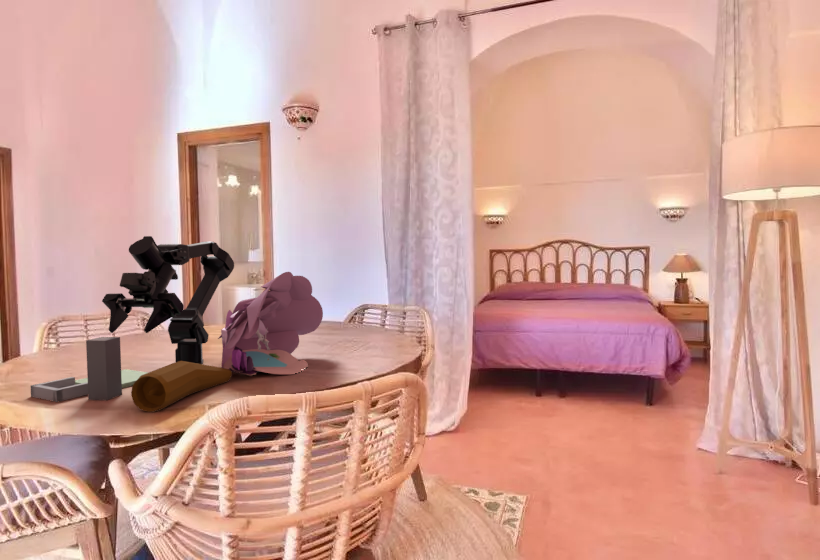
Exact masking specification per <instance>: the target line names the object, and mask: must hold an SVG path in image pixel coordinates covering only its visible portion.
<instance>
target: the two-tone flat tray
mask: <svg viewBox="0 0 820 560" xmlns="http://www.w3.org/2000/svg"><path fill="white" fill-rule="evenodd" d="M146 373H149V372H148V371H140V370H135V369H134V370H133V369H125V368H124V369H121V379H122V389H125V388H129V387H132V386H133V384H134V383H135V382H136V381H137V380H138V378H139V377H140V376H141V375H144V374H146ZM83 396H88V377H85V378H79V379H76V377H75V376H69V377H64V378H59V379H55V380H51V381H46V382H41V383H36V384H31V385H30V397H31V398H34V399H35V398H36V399H40V398H41V399H40V400H45V399H46V400H45V401H49V400H51V401H50V402H54V401H55V402H54V403H58V401H59V402H62V401H67V400H71V399H74V398H79V397H83Z"/></svg>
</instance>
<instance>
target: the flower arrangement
mask: <svg viewBox="0 0 820 560" xmlns="http://www.w3.org/2000/svg"><path fill="white" fill-rule="evenodd" d="M260 288H263V289H264V290H263V291H262V292H261V293H260V294H259V295H258V296H257V297H253V298H248V299H242V300H241V301H239V302H238V303H237V304H236V305H235V307H234V309H233V311H232V310H231V309H228V311H227V313H226V318H225V326H224V327H223V328H222V329H220V335H219V337H217V340H220V339H221V344H222V353H221V355H222V356H221V367H220V368H226V369H229V370H230V371H231V372H232V373H235V374H241V375H245V376H249V377H253V375H257V373H259V372H262V373H266V374H267V373H268V374H271V375H296V374H295V373H297V374H299V373H298V372H300V373H302V372H304V371H305V370H301V369H304V368H306V367H309V365H308V361H306V360H304V359H300V360H298V358H297V357H296V356H294V355H292V353H294V352H295V351H296V350H297V348H298V347H299V344H300V337H299V336H305V335H307V334H310V333H314V332H315V331H316V330H317V329H318V328H319V327H320V325H321V324H322V321H323V318H324V317H323V316H324V313H323V312H324V311H323V307H322V304H321V302H320V301H319V300H318V299H317V298H316V297H315V296H313V286H312V283H311V281H310V280H309V279H308V278H307V277H305V276H303V275H293V273H292V271H285V272H283V273H281V274H279V275H278V276H276V277H275V278H272V279H270V281H268V282H266V283H264V284H262V285H261V286H260ZM301 371H302V372H301Z"/></svg>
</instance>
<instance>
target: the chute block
mask: <svg viewBox="0 0 820 560" xmlns="http://www.w3.org/2000/svg"><path fill="white" fill-rule="evenodd" d="M85 345H86V346H85V347H86V369H87V370H86V371H87V372H86V373H87V374H86V375H87V378H88V394H87V396H88V397H87V398H88V400H91V401H109V400H111V399H114V398H117V397H119V396H121V395H123V388H122V379H121V370H122V356H121V354H122V353H121V337H120V336H118V337H117V336H101V337H96V338H90V339H87V340H85Z"/></svg>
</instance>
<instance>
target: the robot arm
mask: <svg viewBox="0 0 820 560" xmlns="http://www.w3.org/2000/svg"><path fill="white" fill-rule="evenodd" d="M128 253H130V254H129V255H131V256H132V258H133V259H134V260H135V262H136V263H137V264H138V265H139V267H140V268H141V269H143V270H146V271H144V272H143V273H142V272H140V273H139V272H123V273H122V275H121V278H120V282H119V287H121V288H125V289H126V290H128V294H129V295H130V296H132V297H131V298H128V297H126V296H125V295H124V294H123V293H115V292H114V293H105V295H104V296H103V298H102V300H101V302H102V303H103V304H104V305H105V306H106V307H107V309H109V311H110V312H109V315H110V318H109V326H108V331H109V333H111V334H113V333H114V332H116V331H117V329H119V328H120V327H121V325H122V324H123V323H124V322H125V321H126V320H127V318H128V317H129V315H128V314H130V313H131V311H132V310H133V308H139V307H140V308H144V309H152V312H151V314H150V316H149V317H148V319H147V322H146V324H145V327H144V330H143V331H144V333H145V334H148V333H150V332H151V331H153V330H154V329H155V328H158V326H160V325H161V324H163V323H164V322H166V321H170V322H169V324H168V327H167V331H168V336H169V339H170V342H171V343H170V344H171V345H172V344H173V345H174V344H176V346H177V347H176V349H175V350H174V353H175V354H174V356H175V357H174V358H175V362H178V361H186V362H191V363H197V364H203V363H204V358H203V344H206V343H207V342H208V341H209V333H208V331H207V330H206V329H205V323H204V319H203V317H204V316H203V315H204V314H205V312H206V309H207V307H209V304H210V302H211V300H212V299H213V296H214V294H215V292H216V291H217V288H218V286H219V284H220V283H221V282H222V281H224V280H226V279H228V278H229V276H230V275H231V274H232V273H233V270H234V268H235V262H234V260H233V258H232V257H231V255H230V253H228V252H227V251H226V250H224V249H222V248H221V247H220V246H219V244H218V243H217V242H214V241H201V242H198V243H191V244H181V243H180V244H179V243H165V244H164V243H163V244H162V243H161V244H158V245H157V243H156V241H155V240H154V238H153V236H151V235H148V236H147V235H144V236H143V238H140V239H138V240H137V241H135V242H134V243H132V244H130V246H129V247H128ZM210 255H211V256H210ZM194 258H200V263H201V266H202V268H203V272H204V276H203V277H202V279H201V281H200V282H199V284H198V286H197V287H196V290H195V291H194V293H193V295H192V297H191V298H190V300H189V302H188V304H187V306H186V308H184V307H185V305H184V303H183V302H182V301H181V300H180V298H179V297H178V296H177V294H176V293H175V292H169V291H168V289H167V287H168V285H169V284H170V282H171V280H172V281H173V280H178V279H179V276H178V274H177V270H176V269H175V268H174V267H173V266H184V265H185V264H187V263H189V262H190V260H191V259H194ZM147 270H148V271H147Z"/></svg>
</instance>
